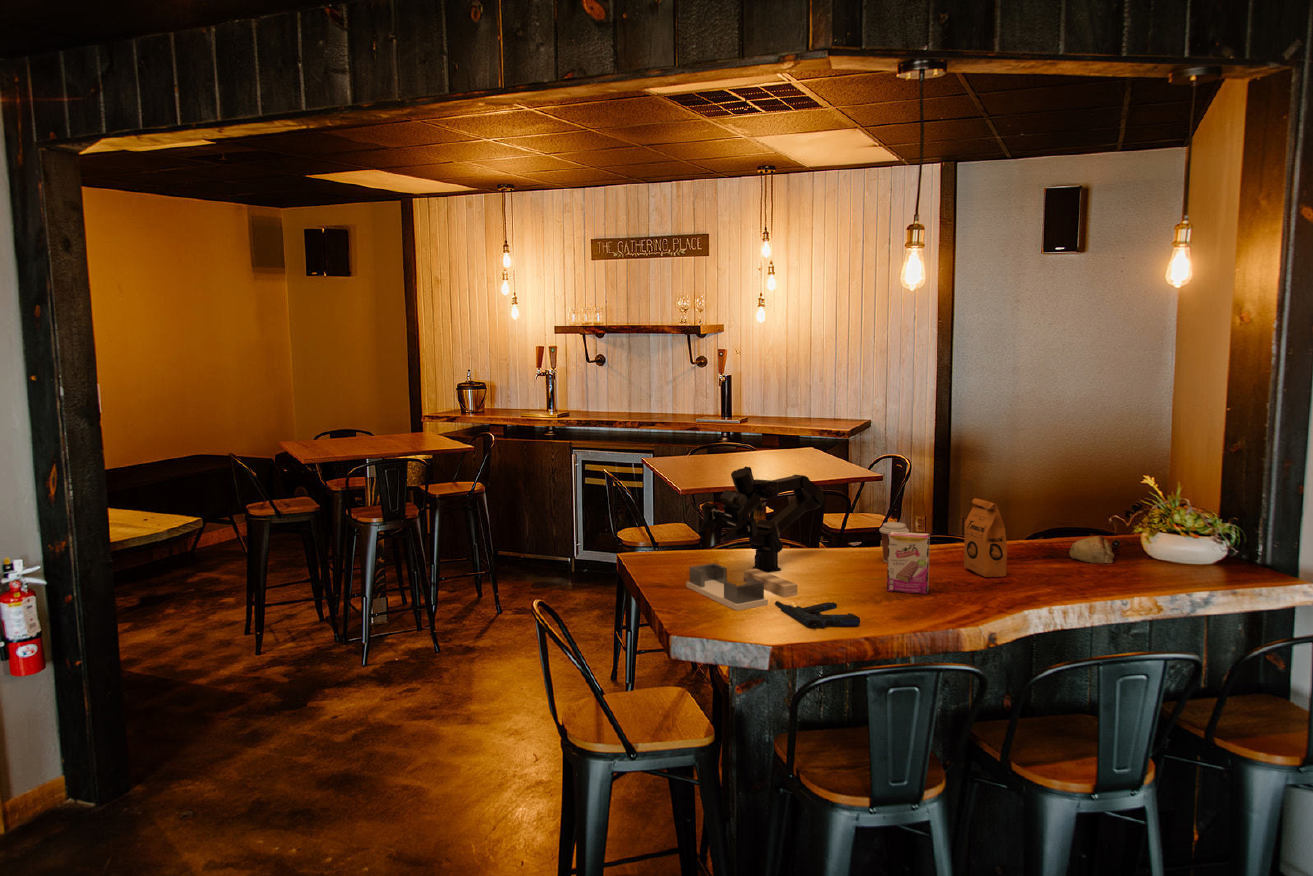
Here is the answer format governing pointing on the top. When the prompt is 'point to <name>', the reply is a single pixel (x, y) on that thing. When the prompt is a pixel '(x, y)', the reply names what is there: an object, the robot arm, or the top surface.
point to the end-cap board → (716, 593)
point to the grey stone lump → (1092, 550)
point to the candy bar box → (908, 562)
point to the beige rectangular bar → (772, 583)
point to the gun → (819, 615)
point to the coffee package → (985, 540)
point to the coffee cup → (885, 532)
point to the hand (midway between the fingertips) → (711, 535)
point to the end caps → (727, 583)
